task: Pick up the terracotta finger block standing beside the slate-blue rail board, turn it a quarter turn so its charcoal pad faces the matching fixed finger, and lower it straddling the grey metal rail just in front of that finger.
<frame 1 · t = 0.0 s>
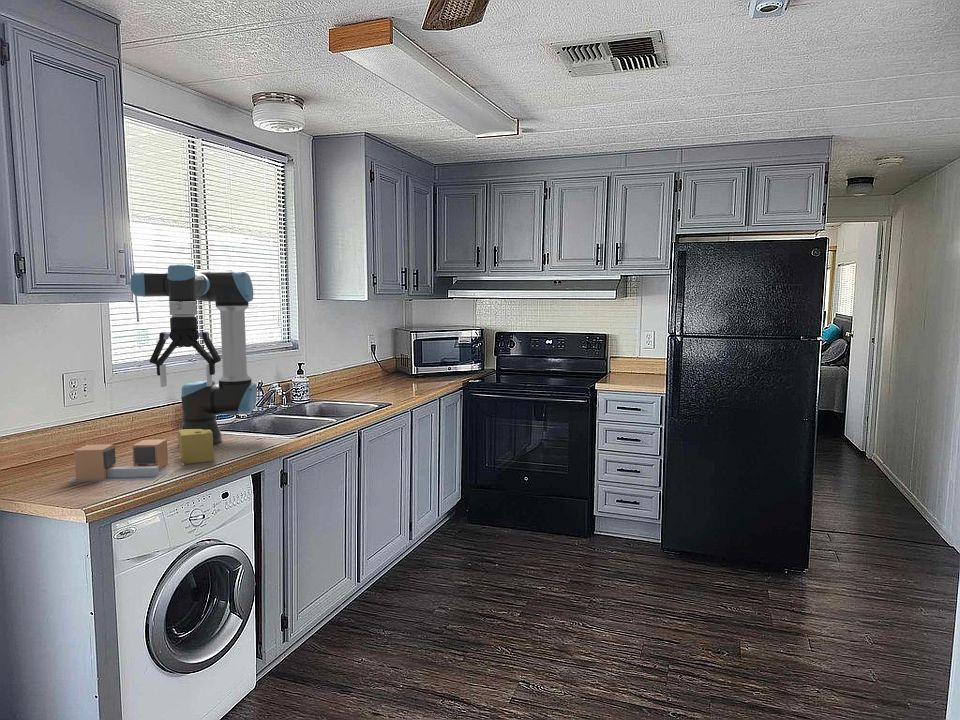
hand: (186, 386, 206), 28 cm above the worktop, fingers open, 13 cm apart
fixed finger: (96, 476, 205), resting on rail
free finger: (151, 470, 217), on the worktop
cheese: (196, 460, 230), on the worktop
rail: (118, 479, 206), on the worktop
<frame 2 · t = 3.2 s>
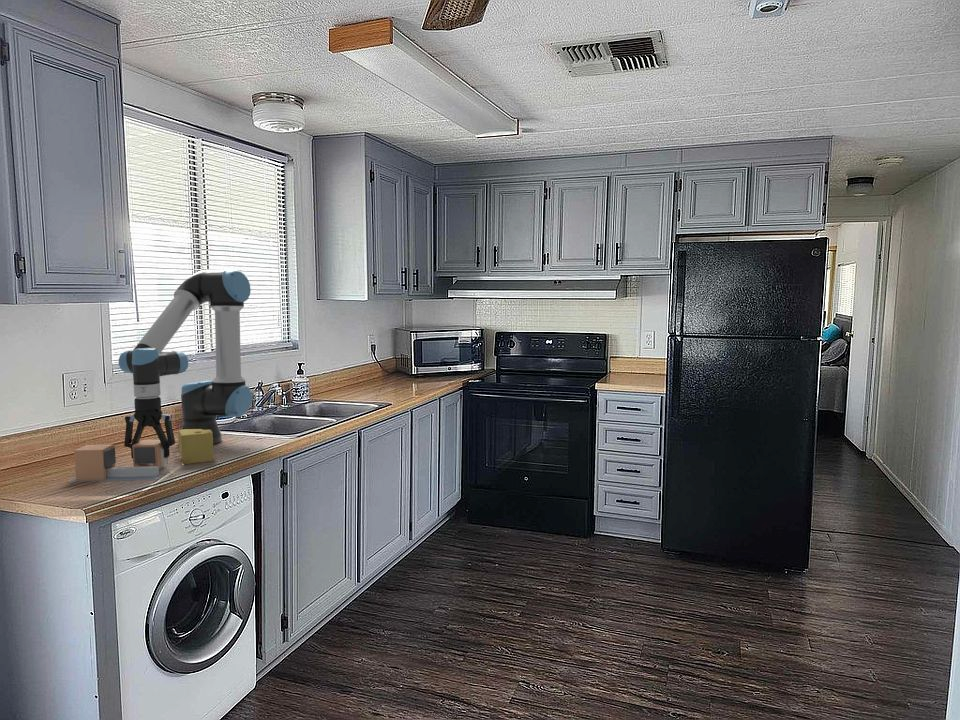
hand: (151, 467, 217), 1 cm above the worktop, fingers closed on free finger, 7 cm apart
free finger: (151, 469, 217), on the worktop, touching gripper
everything else where it was.
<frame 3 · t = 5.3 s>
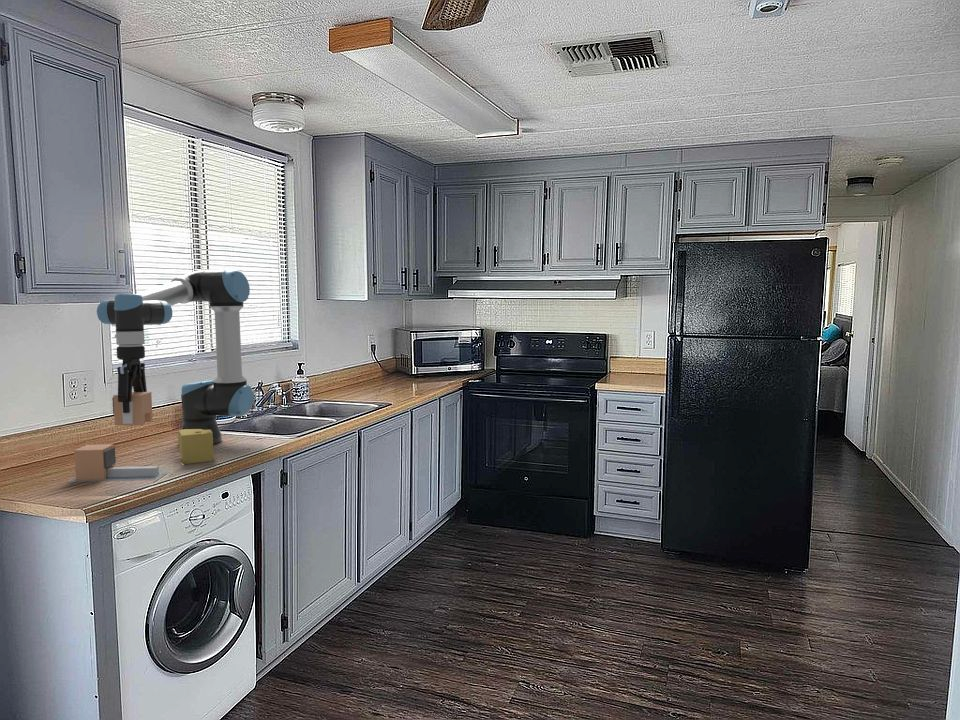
hand: (134, 421, 205), 18 cm above the worktop, fingers closed on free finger, 7 cm apart
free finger: (134, 423, 205), point 17 cm above the worktop, touching gripper
everything else where it was.
when the fingers open (3 cm above the worktop, at t = 7.8 s): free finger drops 1 cm, resting on rail.
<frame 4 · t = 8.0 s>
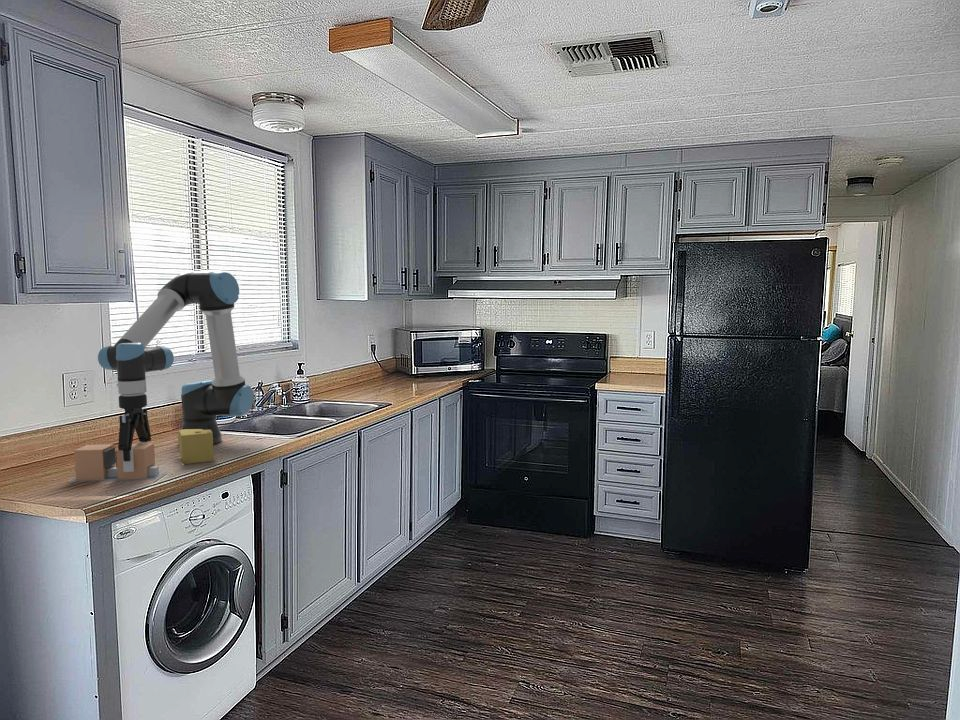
hand: (136, 466, 206), 4 cm above the worktop, fingers open, 10 cm apart
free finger: (136, 475, 206), point 1 cm above the worktop, touching rail
everything else where it was.
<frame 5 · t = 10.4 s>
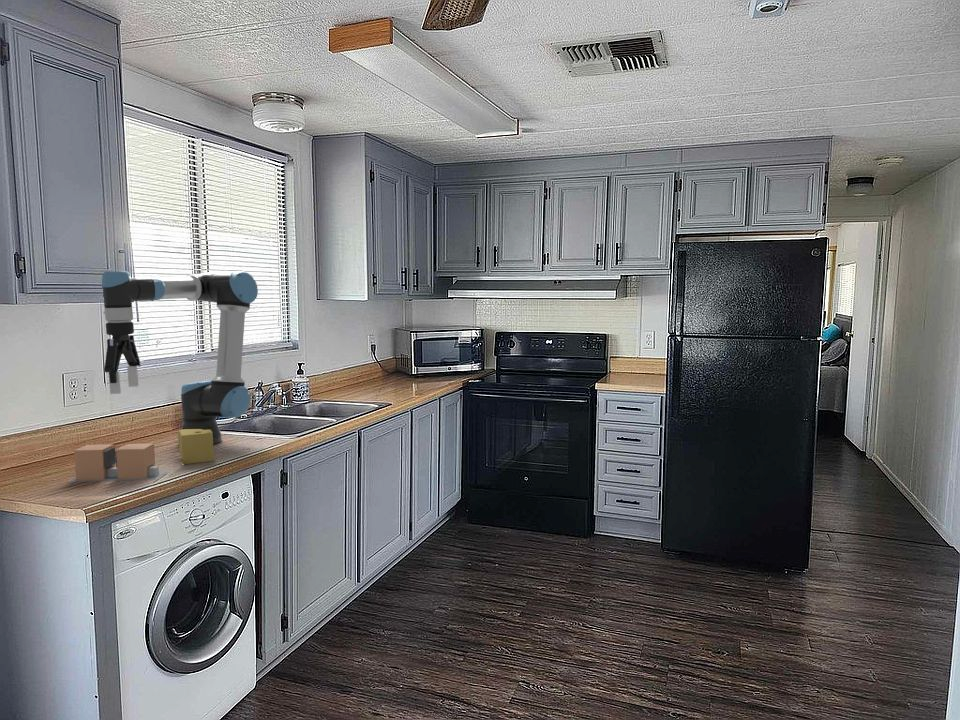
hand: (124, 389, 211), 26 cm above the worktop, fingers open, 13 cm apart
nothing on the worktop moved.
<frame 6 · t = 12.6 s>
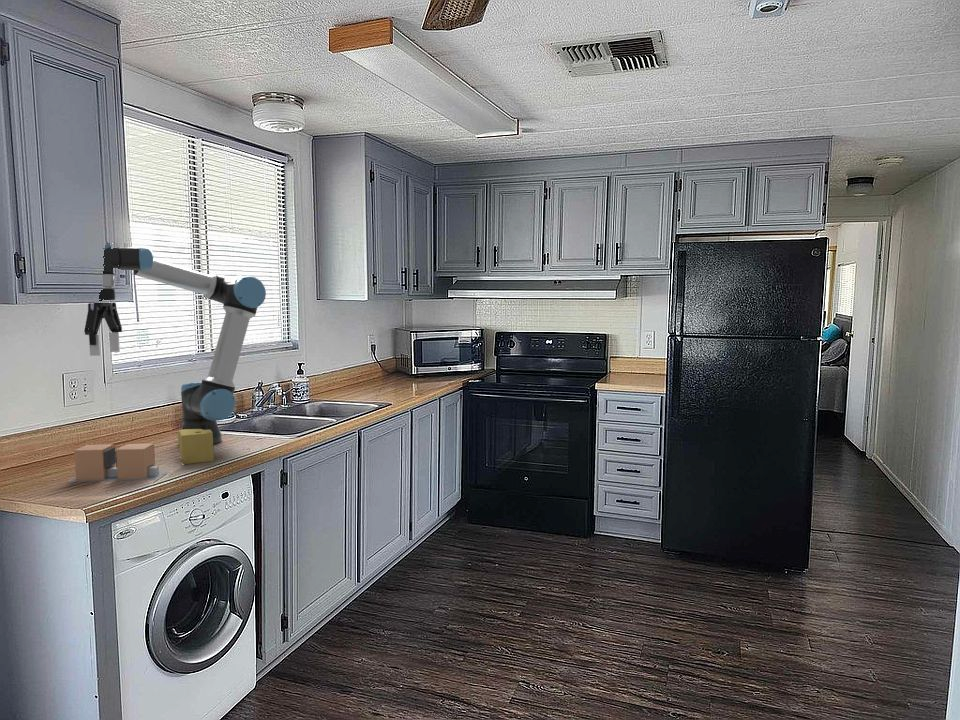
hand: (105, 353, 220), 37 cm above the worktop, fingers open, 13 cm apart
nothing on the worktop moved.
at the end: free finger 0.5 cm from the target spot on the rail, point 1.0 cm above the rail's base; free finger tilted 0°; the gripper is holding nothing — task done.
